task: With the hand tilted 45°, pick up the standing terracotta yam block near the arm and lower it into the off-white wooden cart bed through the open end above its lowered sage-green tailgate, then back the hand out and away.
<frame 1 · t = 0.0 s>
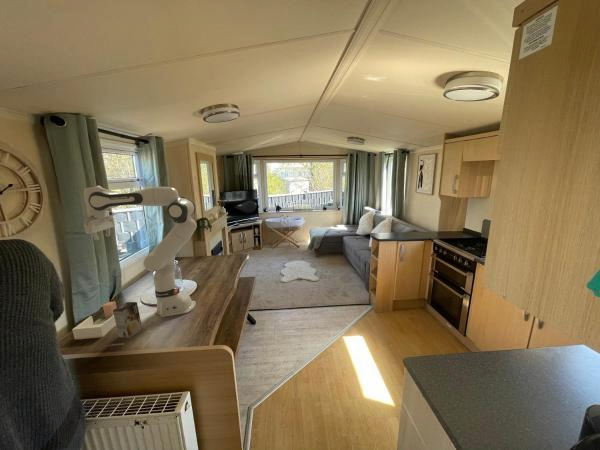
hand: (102, 238, 153), 48 cm above the table, tool pointing down, fingers open, 8 cm apart
terracotta block: (112, 317, 158), on the table
coffee box: (131, 334, 140), on the table
cart bed: (97, 332, 143), on the table
tailgate: (108, 320, 152), point 1 cm above the table, hinge at 90.0°
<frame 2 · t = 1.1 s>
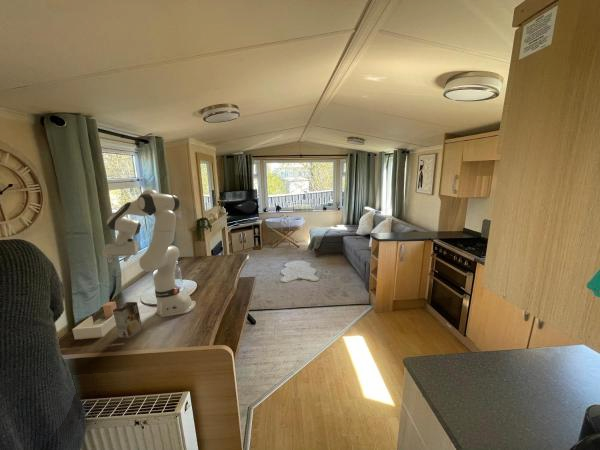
hand: (117, 261, 167), 30 cm above the table, tool tilted 45°, fingers open, 8 cm apart
nothing on the table moved.
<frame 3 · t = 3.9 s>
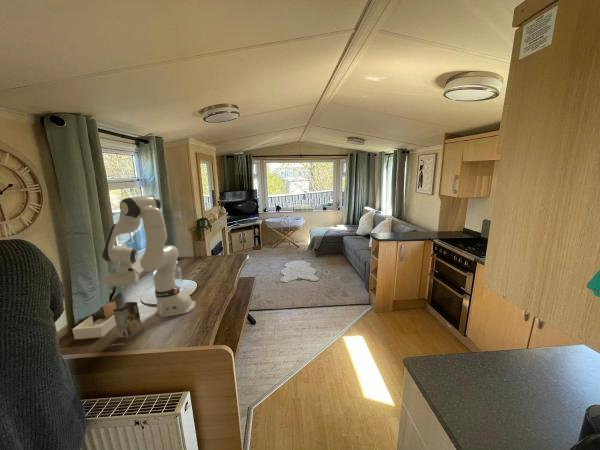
hand: (117, 292, 165), 12 cm above the table, tool tilted 45°, fingers open, 8 cm apart
nothing on the table moved.
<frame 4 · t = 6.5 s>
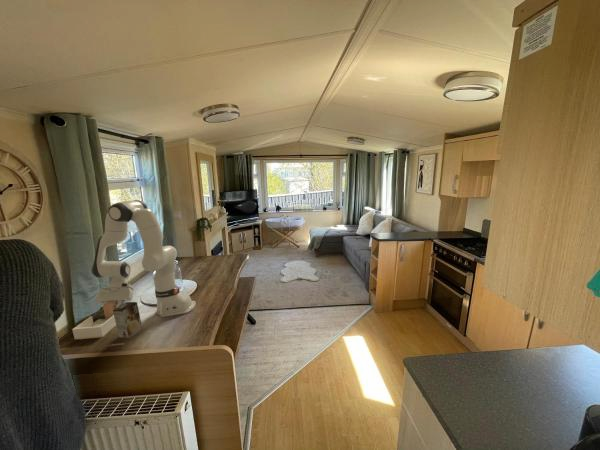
hand: (110, 309, 157), 5 cm above the table, tool tilted 45°, fingers closed on terracotta block, 4 cm apart
terracotta block: (112, 317, 158), on the table, touching gripper
everything else where it was.
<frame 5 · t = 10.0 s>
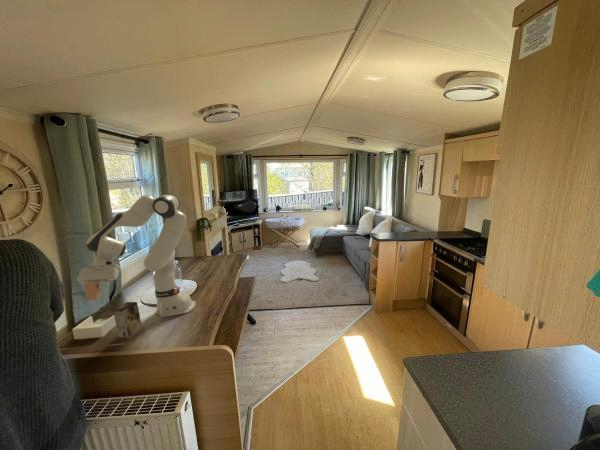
hand: (93, 288, 143), 23 cm above the table, tool tilted 45°, fingers closed on terracotta block, 4 cm apart
terracotta block: (94, 298, 143), point 18 cm above the table, touching gripper
everything else where it was.
when the fingers open (8 cm above the table, at t = 13.6 s): terracotta block drops 1 cm, resting on cart bed.
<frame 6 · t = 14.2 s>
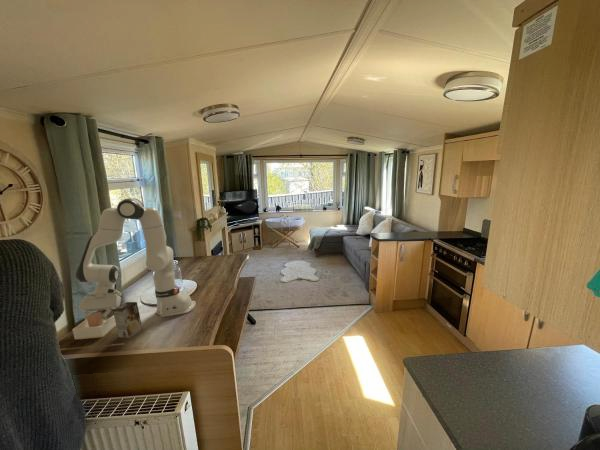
hand: (95, 318, 142), 8 cm above the table, tool tilted 45°, fingers open, 8 cm apart
terracotta block: (97, 329, 143), point 1 cm above the table, touching cart bed
everything else where it was.
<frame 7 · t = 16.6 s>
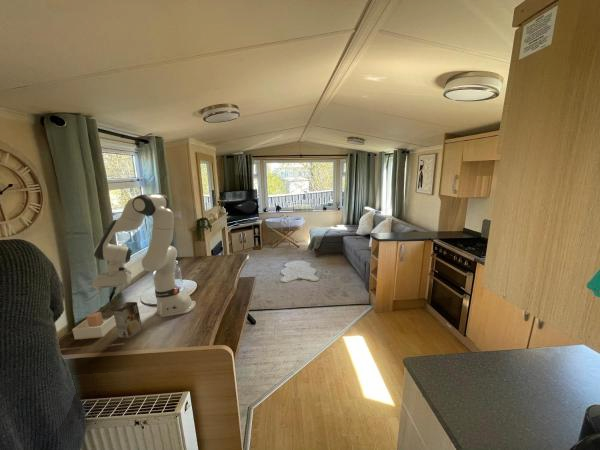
hand: (108, 293, 153), 16 cm above the table, tool tilted 45°, fingers open, 8 cm apart
nothing on the table moved.
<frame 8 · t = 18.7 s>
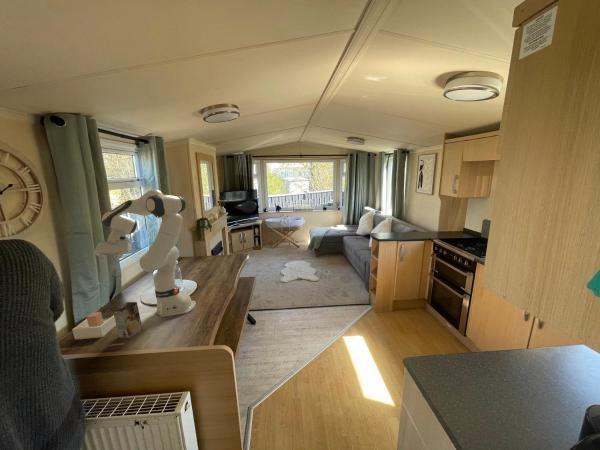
hand: (109, 260, 159), 33 cm above the table, tool tilted 45°, fingers open, 8 cm apart
nothing on the table moved.
at the end: terracotta block inside the target area on the cart bed (0.4 cm from its centre), point 1.5 cm above the cart bed's base; terracotta block tilted 0°; the gripper is holding nothing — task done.
